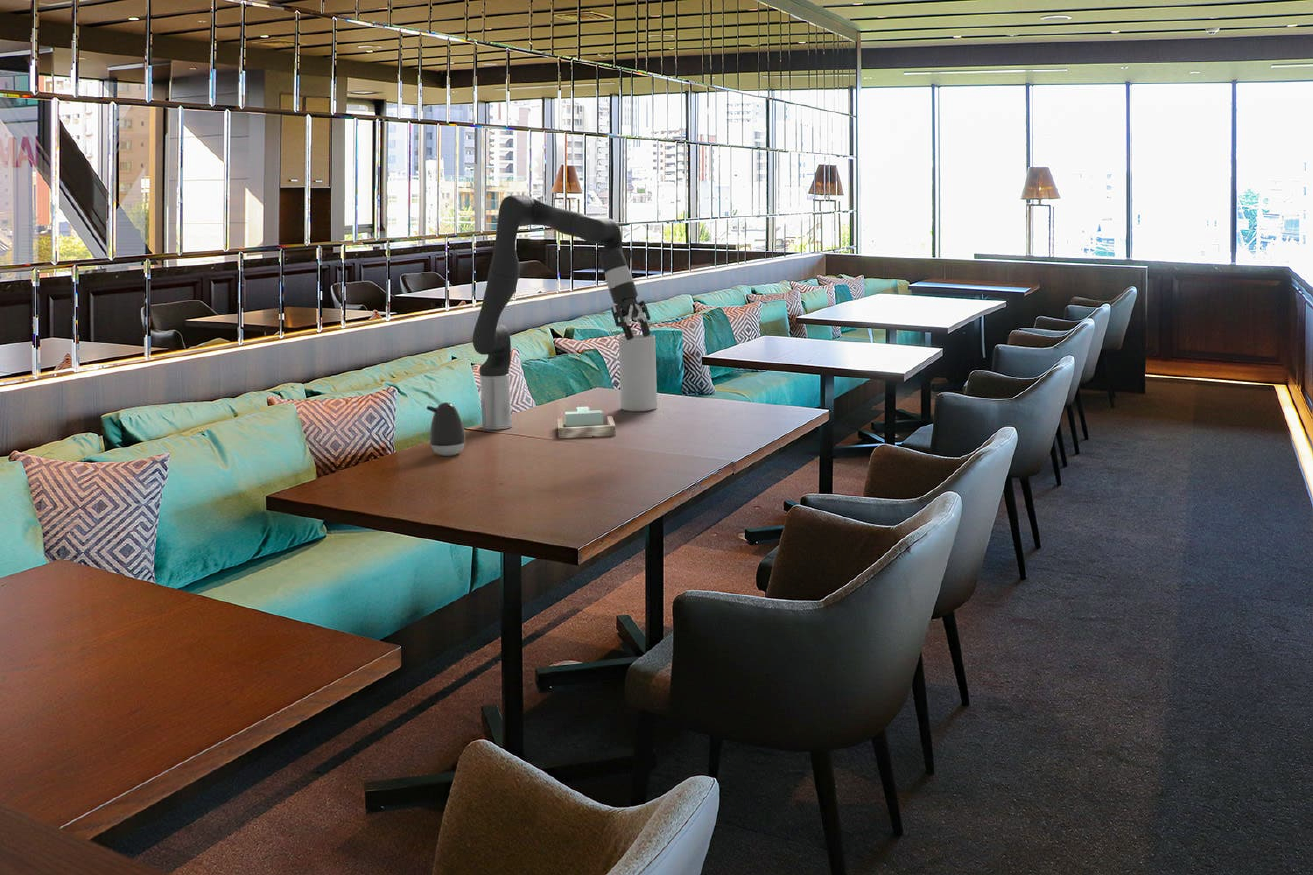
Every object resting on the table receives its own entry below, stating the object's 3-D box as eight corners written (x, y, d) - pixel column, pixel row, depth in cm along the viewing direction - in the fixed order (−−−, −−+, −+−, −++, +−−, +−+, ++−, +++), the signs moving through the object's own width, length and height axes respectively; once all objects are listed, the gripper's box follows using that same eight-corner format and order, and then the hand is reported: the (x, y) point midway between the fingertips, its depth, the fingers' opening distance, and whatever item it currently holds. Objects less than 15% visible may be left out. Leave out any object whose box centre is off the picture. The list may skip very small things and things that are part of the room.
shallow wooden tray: (558, 438, 339) (558, 428, 339) (557, 427, 355) (557, 418, 355) (615, 435, 341) (615, 425, 340) (612, 425, 357) (611, 416, 357)
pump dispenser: (432, 451, 326) (428, 400, 323) (467, 449, 327) (464, 398, 324) (427, 458, 316) (424, 406, 313) (464, 457, 317) (461, 404, 314)
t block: (565, 419, 369) (564, 407, 368) (601, 417, 371) (600, 406, 370) (566, 426, 358) (565, 414, 357) (603, 424, 359) (602, 412, 358)
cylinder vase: (656, 411, 379) (654, 338, 374) (620, 412, 379) (617, 339, 374) (657, 405, 391) (655, 334, 386) (621, 405, 391) (619, 335, 386)
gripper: (625, 287, 329) (643, 339, 329) (596, 291, 318) (615, 344, 318) (644, 278, 325) (662, 331, 325) (616, 282, 313) (634, 336, 313)
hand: (639, 337), depth 321 cm, fingers open, 8 cm apart
